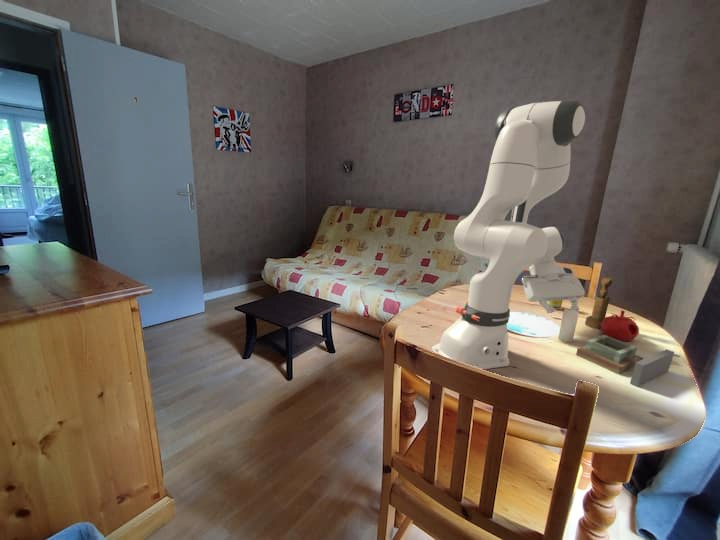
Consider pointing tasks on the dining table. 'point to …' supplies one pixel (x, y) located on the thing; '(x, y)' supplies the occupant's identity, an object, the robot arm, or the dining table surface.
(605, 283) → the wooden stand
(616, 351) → the socket block
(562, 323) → the dowel
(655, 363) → the backstop wall
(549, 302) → the supplement bottle
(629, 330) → the pomegranate
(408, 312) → the dining table surface
